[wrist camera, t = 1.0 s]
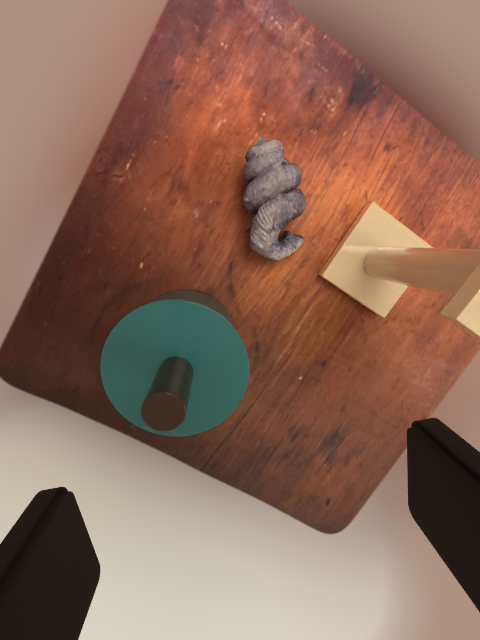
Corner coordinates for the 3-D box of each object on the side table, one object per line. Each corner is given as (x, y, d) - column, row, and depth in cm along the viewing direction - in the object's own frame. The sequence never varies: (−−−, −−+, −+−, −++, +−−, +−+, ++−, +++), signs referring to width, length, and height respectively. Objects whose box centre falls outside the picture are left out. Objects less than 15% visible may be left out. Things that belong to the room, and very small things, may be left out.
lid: (89, 307, 22) (37, 333, 16) (240, 288, 23) (248, 306, 16) (122, 437, 25) (89, 505, 19) (254, 418, 26) (267, 478, 19)
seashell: (282, 256, 30) (256, 150, 28) (328, 246, 26) (303, 122, 24) (244, 269, 27) (212, 152, 25) (290, 261, 23) (257, 119, 21)
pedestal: (317, 274, 30) (456, 319, 12) (366, 202, 28) (599, 140, 11) (378, 315, 31) (576, 406, 14) (427, 249, 30) (716, 258, 13)
